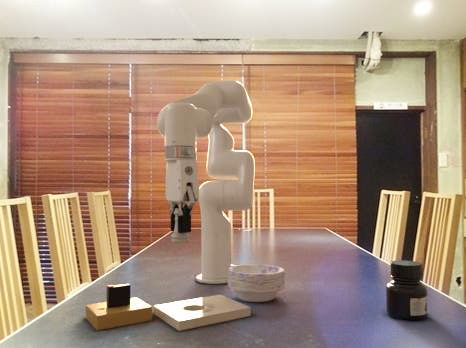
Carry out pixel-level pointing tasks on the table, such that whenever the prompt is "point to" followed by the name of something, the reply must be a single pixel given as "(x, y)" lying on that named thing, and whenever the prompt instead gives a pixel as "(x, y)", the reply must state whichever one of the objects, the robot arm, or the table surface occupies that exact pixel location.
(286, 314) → the table surface
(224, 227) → the robot arm
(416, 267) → the ink bottle
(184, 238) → the rook chess piece
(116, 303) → the black battery pack
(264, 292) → the paper bowls
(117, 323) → the orange dial base
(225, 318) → the white socket plate
